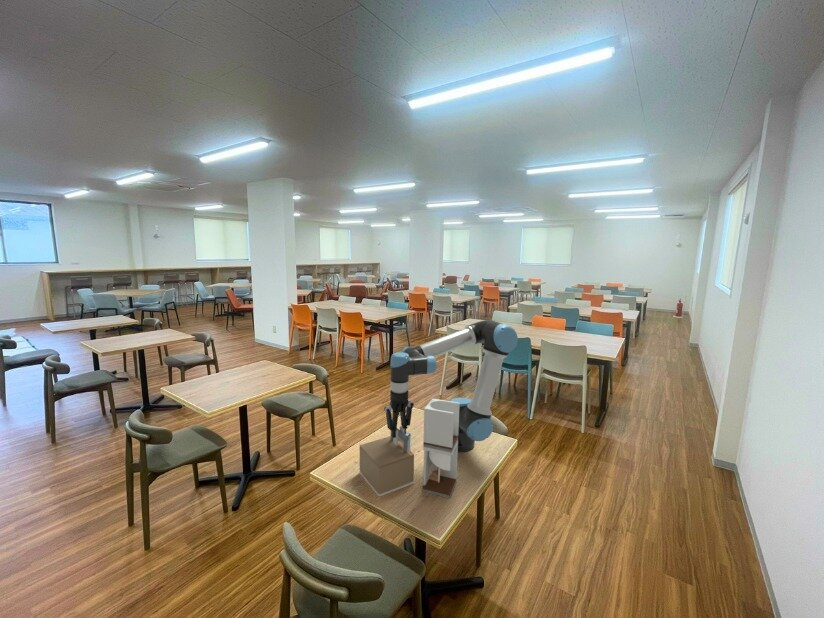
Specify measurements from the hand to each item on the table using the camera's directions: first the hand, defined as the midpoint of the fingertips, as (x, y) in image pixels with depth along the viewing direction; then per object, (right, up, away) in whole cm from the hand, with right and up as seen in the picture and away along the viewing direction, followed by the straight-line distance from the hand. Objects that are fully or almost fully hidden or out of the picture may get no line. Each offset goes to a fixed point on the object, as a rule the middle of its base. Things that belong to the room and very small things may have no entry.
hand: (398, 442), depth 153 cm
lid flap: (-5, -3, -3) cm, 6 cm away
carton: (-5, -15, -1) cm, 16 cm away
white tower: (+17, -16, -6) cm, 24 cm away
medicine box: (0, -11, +21) cm, 24 cm away
